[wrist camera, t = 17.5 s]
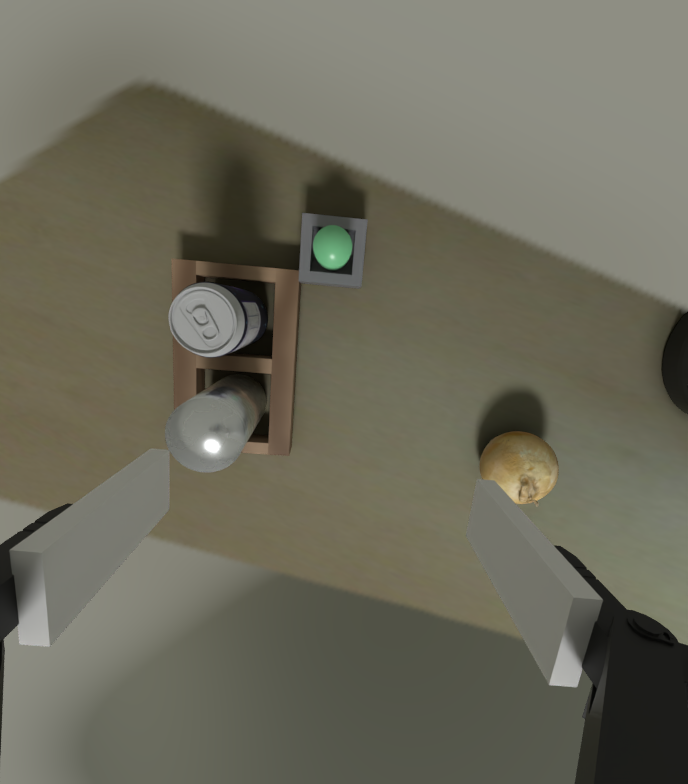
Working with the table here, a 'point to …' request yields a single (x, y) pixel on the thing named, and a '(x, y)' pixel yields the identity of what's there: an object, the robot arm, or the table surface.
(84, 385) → the table surface
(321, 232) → the button
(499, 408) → the table surface
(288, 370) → the glass rack
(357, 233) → the button housing
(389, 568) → the table surface
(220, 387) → the frosted drinking glass
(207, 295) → the beverage can
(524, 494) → the onion
